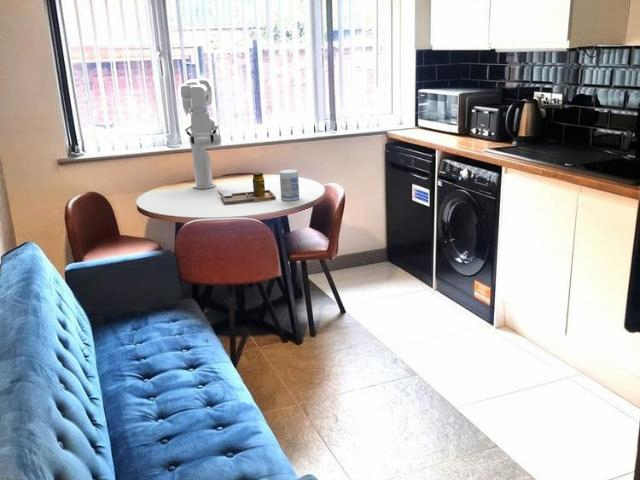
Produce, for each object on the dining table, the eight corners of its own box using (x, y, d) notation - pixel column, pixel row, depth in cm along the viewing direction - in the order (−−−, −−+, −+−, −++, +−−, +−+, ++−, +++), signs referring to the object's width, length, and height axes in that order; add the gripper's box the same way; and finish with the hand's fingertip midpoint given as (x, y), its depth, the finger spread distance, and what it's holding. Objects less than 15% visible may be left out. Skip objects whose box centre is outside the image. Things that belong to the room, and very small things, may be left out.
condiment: (268, 195, 312) (266, 173, 308) (253, 198, 308) (252, 176, 304) (261, 193, 318) (260, 171, 314) (247, 195, 314) (245, 173, 310)
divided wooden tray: (221, 197, 316) (221, 194, 315) (269, 192, 322) (269, 189, 322) (224, 204, 301) (224, 202, 300) (275, 199, 307) (275, 196, 307)
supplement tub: (295, 201, 301) (294, 173, 297) (278, 201, 304) (276, 173, 299) (302, 197, 310) (300, 169, 305) (285, 196, 313) (283, 169, 308)
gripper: (182, 112, 301) (186, 145, 307) (216, 110, 305) (219, 143, 311) (182, 110, 308) (185, 143, 313) (215, 108, 312) (218, 141, 318)
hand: (202, 143), depth 312 cm, fingers open, 9 cm apart
